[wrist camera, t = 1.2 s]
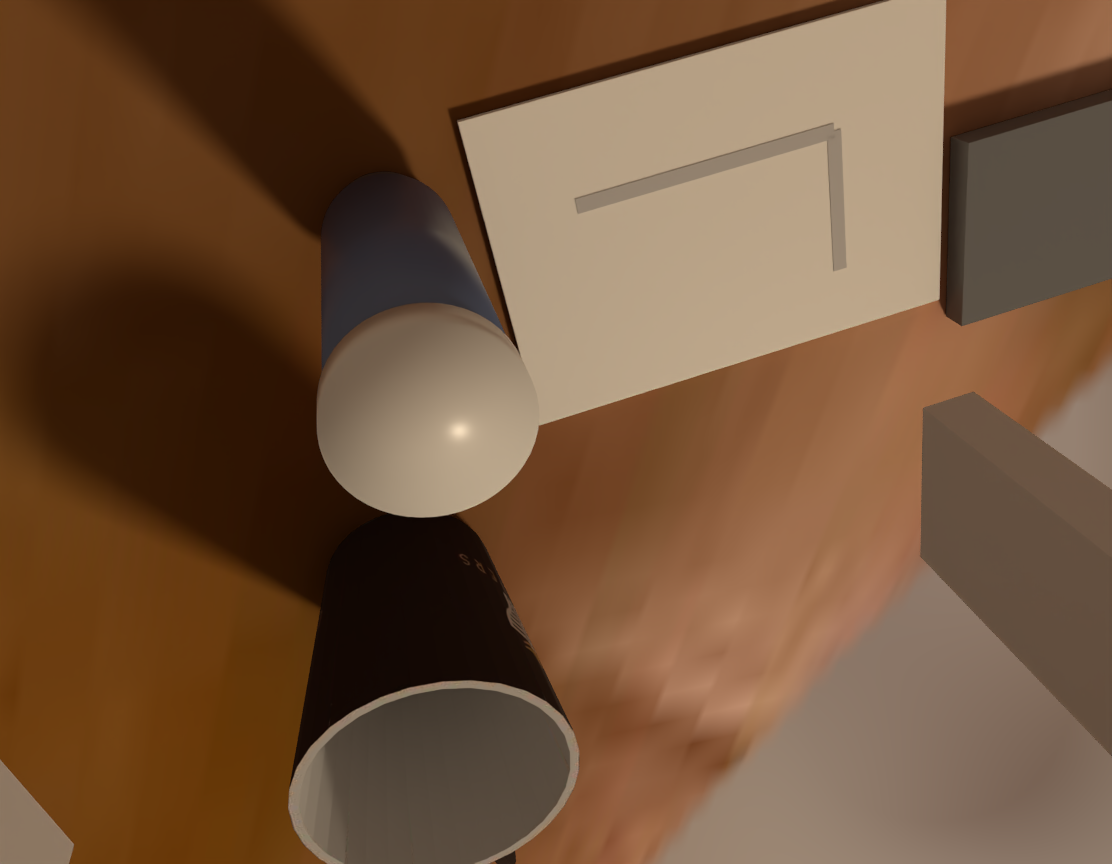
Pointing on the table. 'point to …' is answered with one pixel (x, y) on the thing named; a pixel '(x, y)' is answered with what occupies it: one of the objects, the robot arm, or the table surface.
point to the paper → (717, 202)
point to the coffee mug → (425, 707)
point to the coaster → (1030, 209)
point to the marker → (414, 358)
